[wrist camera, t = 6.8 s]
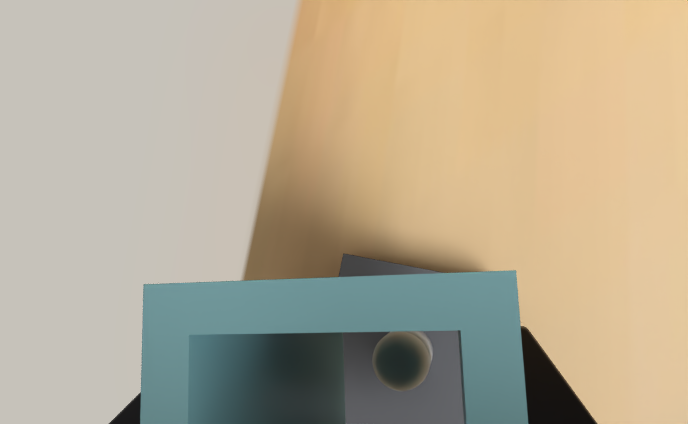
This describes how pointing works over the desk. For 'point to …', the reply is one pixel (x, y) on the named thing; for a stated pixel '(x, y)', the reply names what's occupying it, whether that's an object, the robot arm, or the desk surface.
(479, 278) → the teal sleeve
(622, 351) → the desk surface
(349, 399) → the dark grey square plate
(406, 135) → the desk surface
